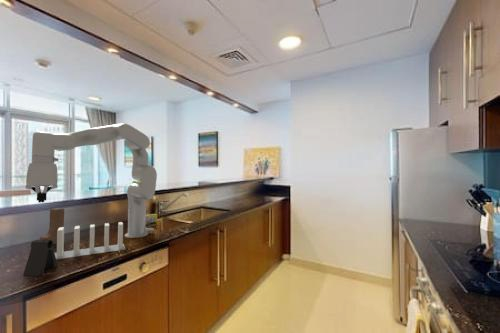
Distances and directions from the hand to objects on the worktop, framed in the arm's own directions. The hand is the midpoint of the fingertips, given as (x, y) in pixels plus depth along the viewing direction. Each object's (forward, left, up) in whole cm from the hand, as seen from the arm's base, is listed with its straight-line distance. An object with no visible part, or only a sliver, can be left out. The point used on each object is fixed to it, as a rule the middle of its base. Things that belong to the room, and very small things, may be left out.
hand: (41, 202), depth 105 cm
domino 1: (-7, 0, -25) cm, 26 cm away
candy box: (-49, -40, -25) cm, 68 cm away
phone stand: (-3, +16, -25) cm, 30 cm away
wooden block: (-1, -24, -25) cm, 35 cm away
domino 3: (-19, 0, -25) cm, 31 cm away
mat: (-18, 0, -25) cm, 31 cm away
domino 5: (-31, 0, -25) cm, 40 cm away
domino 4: (-25, 0, -25) cm, 35 cm away
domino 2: (-13, 0, -25) cm, 28 cm away
